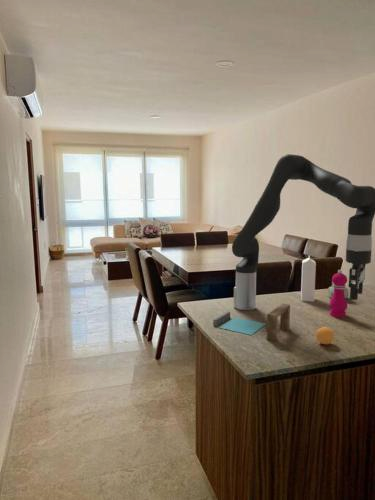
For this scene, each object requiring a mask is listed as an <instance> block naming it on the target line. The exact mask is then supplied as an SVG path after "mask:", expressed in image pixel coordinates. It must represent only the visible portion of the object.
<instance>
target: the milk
mask: <svg viewBox="0 0 375 500" xmlns="http://www.w3.org/2000/svg"><path fill="white" fill-rule="evenodd" d="M301 263H302V264H301V283H300V284H301V285H300V299H301V301H302V302H315V295H316V294H315V292H316V270H317V269H316V268H317V267H316V266H317V263H316V261H315V260H314V259H312V258H311V256H310V255H308V257H307V258H305V259H303V260H302V261H301Z"/></svg>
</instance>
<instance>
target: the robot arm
mask: <svg viewBox="0 0 375 500" xmlns="http://www.w3.org/2000/svg"><path fill="white" fill-rule="evenodd" d="M289 180H292V181H293V180H294V181H297V180H299V181H306V182H309V183H312V184H313V185H315V186H316V187H317V188H318V189H319V191H321V192H323V193H325V194H327V195H329V196H331V197H333V198H336V199H337V200H338V201H339V202H341V203H342V204H343V205H345V206H346V207H349V208H352V209H356V211H355V214H354V215H352V216H350V217H349V219H348V224H347V237H346V244H345V245H346V246H345V247H346V248H345V262H346V263H349V264H352V266H351V267H350V268H349V271H348V272H349V273H348V285H347V286H348V288H350V290H349V300H353V301H357V300H358V298H359V297H358V296H359V295H362V294H363V289H364V288H363V287H364V282H365V279H366V266H367V265H368V264H370V263H371V262H372V248H373V247H372V246H373V237H372V231H373V220H374V217H375V187H374V186H370V185H356V184H353V182H351V181H350V180H349V179H348V178H346V177H344V176H341V175H338V174H336V173H334V172H331V171H329V170H325V168H324V169H323V168H322V167H320V166H318V165H316V164H315V163H313V162H312V161H311V160H309V159H308V158H306V157H304V156H302V155H298V154H284V155H282V156H281V157H280V158H279V159H278V160H277V163H276V165H275V167H274V169H273V172H272V174H271V176H270V179H269V181H268V183H267V185H266V187H265V189H264V191H263V193H262V194H261V196H260V197H259V200H258V201H257V202H256V205H255V206H254V208H253V210H252V212H251V214H250V216H249V217H248V219H247V220H246V222H245V224H244V225H243V227H242V229H241V230H240V231H239V232H238V233H237V235H236V236H235V238H234V239H233V242H232V244H231V245H232V246H231V251H232V254H233V255H234V256H235V257H237V258H242V259H241V260H240V262H238V263H237V264H236V265H235V286H234V287H233V308H236V309H237V310H239V311H253V310H255V309H256V305H257V303H256V300H257V298H256V297H257V267H258V265H259V256H260V255H259V254H260V244H259V240H258V238H257V235H258V234H259V233H260V232H262V231H263V230H265V229H266V228H267V227H268V226H270V224H271V223H272V222H273V221H274V219H275V217H276V216H277V214H278V213H279V211H280V208H281V193H282V190H283V188H284V187H285V185H286V183H287V182H288V181H289Z"/></svg>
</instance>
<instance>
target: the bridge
mask: <svg viewBox="0 0 375 500" xmlns="http://www.w3.org/2000/svg"><path fill="white" fill-rule="evenodd" d="M290 315H291V304H289V303H281V304H280V305H278V306H277V307H276V308H274V309H272V310H271V311H270V312H269V313H267V321H266V322H267V323H266V327H267V328H266V329H267V330H266V340H267V341H272V342H276V341H277V340H278V317H280V320H279V329H281V330H286V331H288V330H290V319H291V317H290Z"/></svg>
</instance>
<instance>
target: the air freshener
mask: <svg viewBox="0 0 375 500" xmlns="http://www.w3.org/2000/svg"><path fill="white" fill-rule="evenodd" d="M333 284H334V283H333V281H332V280H331V286H329V287H328V288H327V294H328V297H329V298H330V299H331V298H332V296H333V294H334V288H333ZM344 296H345V299H348V298H349V297H350V291H349V289H348V288H347V287H346V288H345V289H344Z"/></svg>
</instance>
